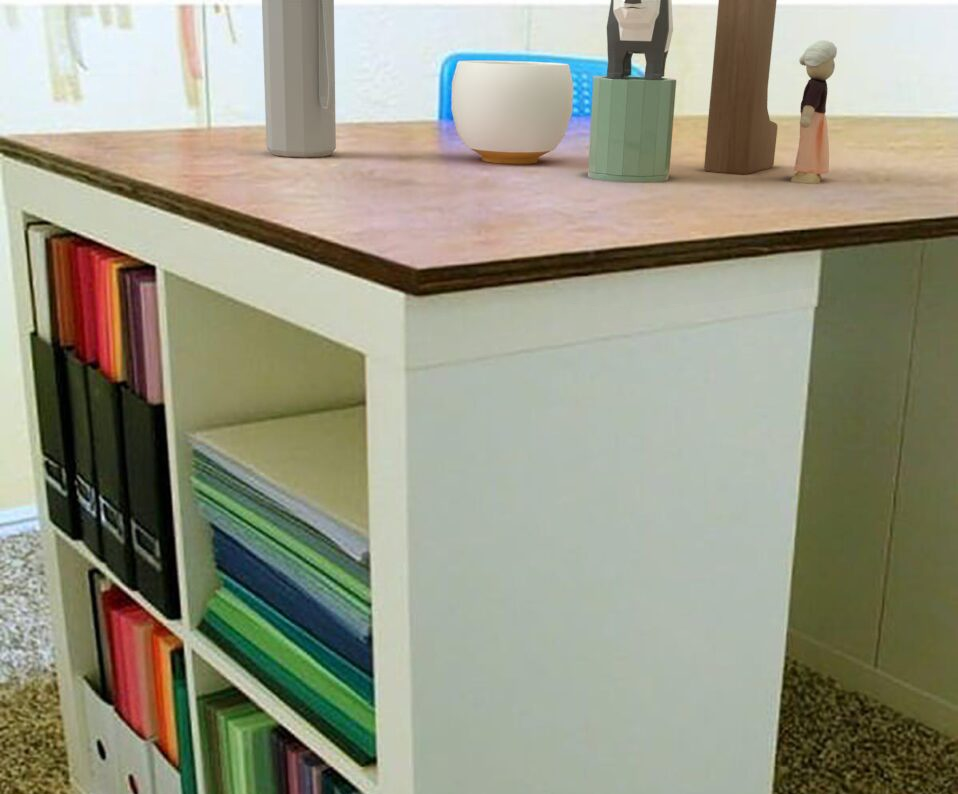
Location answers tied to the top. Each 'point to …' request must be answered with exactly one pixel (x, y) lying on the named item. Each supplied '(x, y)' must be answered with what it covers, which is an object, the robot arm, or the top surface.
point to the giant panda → (638, 36)
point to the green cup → (631, 129)
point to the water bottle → (299, 77)
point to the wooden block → (741, 89)
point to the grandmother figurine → (814, 114)
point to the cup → (511, 108)
